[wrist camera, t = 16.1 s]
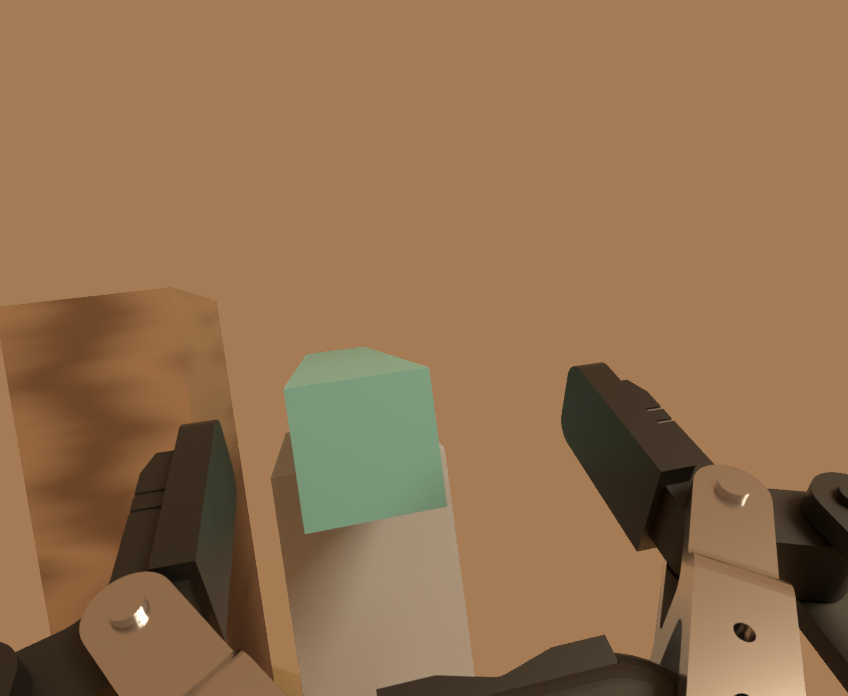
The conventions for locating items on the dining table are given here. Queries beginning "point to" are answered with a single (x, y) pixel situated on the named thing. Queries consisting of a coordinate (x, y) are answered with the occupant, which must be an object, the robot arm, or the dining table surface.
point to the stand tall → (117, 434)
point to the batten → (363, 438)
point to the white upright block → (372, 595)
